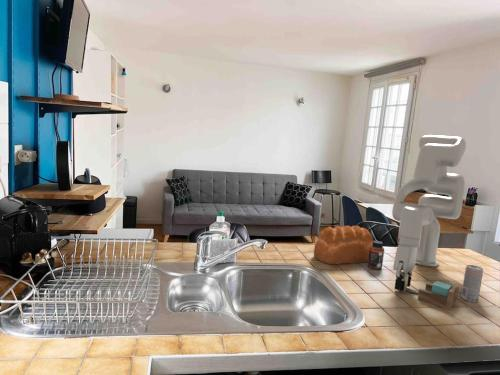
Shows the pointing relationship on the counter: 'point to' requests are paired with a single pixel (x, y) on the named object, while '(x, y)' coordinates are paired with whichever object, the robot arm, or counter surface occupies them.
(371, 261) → the supplement bottle
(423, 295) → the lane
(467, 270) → the energy drink
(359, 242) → the bread
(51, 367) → the counter surface
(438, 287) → the teal block with rod
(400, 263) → the robot arm
